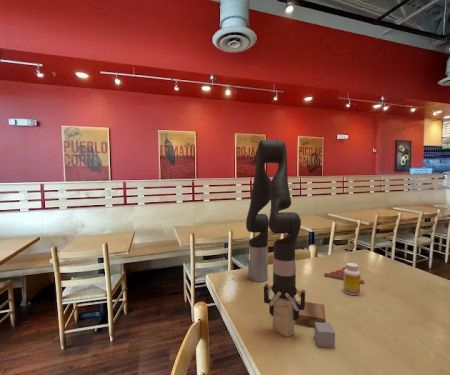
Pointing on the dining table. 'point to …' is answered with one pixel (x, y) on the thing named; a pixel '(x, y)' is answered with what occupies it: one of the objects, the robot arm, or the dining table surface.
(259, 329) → the dining table surface
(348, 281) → the supplement bottle
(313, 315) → the walnut block
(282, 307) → the skincare box
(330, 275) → the pepperoni pizza slice
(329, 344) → the grey cube
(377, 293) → the dining table surface
